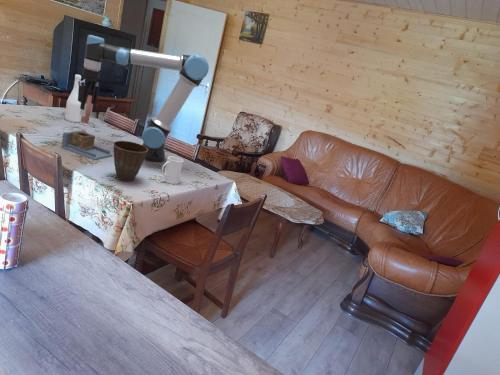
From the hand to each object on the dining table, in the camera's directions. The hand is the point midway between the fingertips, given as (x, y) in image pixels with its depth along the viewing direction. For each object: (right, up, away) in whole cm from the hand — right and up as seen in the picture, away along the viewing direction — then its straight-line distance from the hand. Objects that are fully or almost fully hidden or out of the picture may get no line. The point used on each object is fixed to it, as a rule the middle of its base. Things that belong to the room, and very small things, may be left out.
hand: (85, 115), depth 178 cm
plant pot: (+25, -33, -14) cm, 44 cm away
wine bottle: (-33, +7, +53) cm, 63 cm away
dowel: (-1, -3, +1) cm, 3 cm away
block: (-5, -16, +5) cm, 17 cm away
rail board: (-1, -18, +5) cm, 19 cm away
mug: (+43, -34, -2) cm, 54 cm away
